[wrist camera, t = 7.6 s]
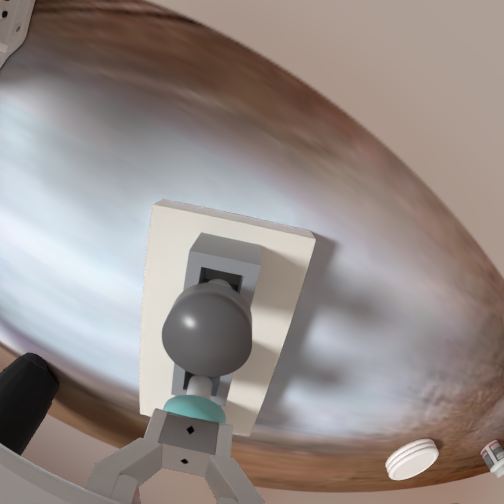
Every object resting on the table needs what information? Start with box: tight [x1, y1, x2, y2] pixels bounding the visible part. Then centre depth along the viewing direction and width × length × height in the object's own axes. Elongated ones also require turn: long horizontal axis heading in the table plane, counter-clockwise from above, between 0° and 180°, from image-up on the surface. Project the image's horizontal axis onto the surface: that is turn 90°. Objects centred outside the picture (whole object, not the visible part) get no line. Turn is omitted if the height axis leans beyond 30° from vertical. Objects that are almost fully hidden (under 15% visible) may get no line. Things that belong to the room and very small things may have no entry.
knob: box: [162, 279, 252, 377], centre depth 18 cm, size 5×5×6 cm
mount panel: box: [140, 199, 316, 436], centre depth 28 cm, size 26×14×8 cm, turn 167°
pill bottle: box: [481, 440, 504, 477], centre depth 39 cm, size 5×5×10 cm
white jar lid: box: [386, 438, 439, 480], centre depth 40 cm, size 10×10×4 cm
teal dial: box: [163, 375, 226, 424], centre depth 21 cm, size 5×5×6 cm
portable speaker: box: [0, 353, 59, 456], centre depth 26 cm, size 9×9×20 cm
